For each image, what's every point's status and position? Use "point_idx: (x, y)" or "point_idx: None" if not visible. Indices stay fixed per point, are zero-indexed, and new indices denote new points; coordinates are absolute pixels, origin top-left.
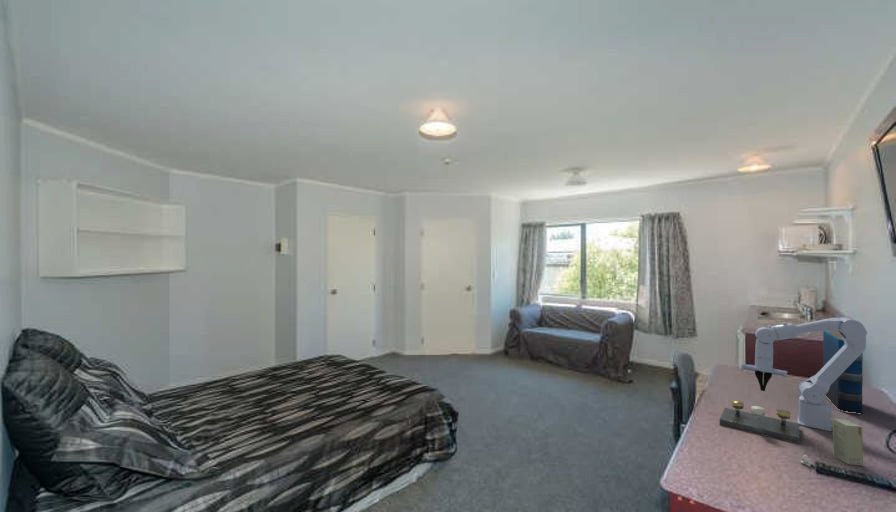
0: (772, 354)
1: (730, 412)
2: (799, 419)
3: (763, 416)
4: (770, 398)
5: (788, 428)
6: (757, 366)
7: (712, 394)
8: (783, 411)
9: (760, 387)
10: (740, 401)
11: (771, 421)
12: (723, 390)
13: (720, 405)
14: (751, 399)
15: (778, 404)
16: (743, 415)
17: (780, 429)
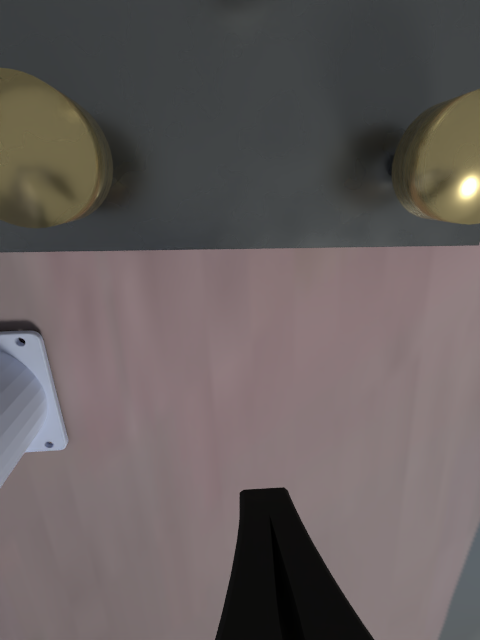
0: None
1: None
2: (31, 385)
3: (225, 235)
4: (221, 613)
5: (8, 23)
6: None
7: (469, 503)
8: (17, 154)
9: (299, 522)
10: (448, 210)
11: (161, 141)
12: (409, 582)
13: (456, 361)
14: None
15: (183, 568)
16: (365, 136)
17: None
